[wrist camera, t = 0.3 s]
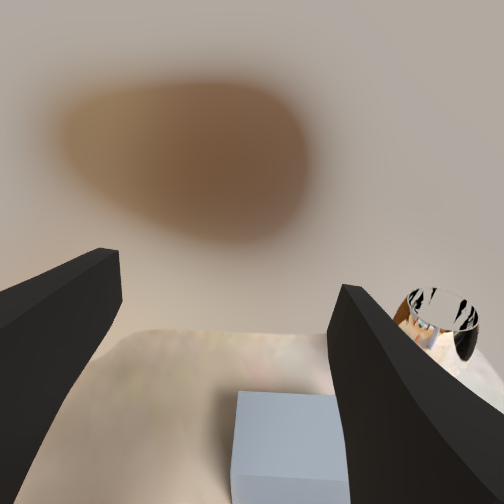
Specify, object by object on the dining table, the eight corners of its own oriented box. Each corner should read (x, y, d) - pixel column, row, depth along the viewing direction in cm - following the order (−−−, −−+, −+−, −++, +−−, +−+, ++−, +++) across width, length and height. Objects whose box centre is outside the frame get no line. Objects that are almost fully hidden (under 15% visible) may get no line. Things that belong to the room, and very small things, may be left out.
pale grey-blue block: (343, 431, 28) (352, 396, 26) (358, 515, 23) (371, 482, 21) (239, 425, 29) (238, 390, 26) (232, 507, 24) (230, 473, 21)
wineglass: (354, 395, 31) (381, 296, 25) (398, 370, 33) (433, 274, 27) (404, 452, 27) (453, 350, 20) (450, 419, 29) (507, 319, 23)
